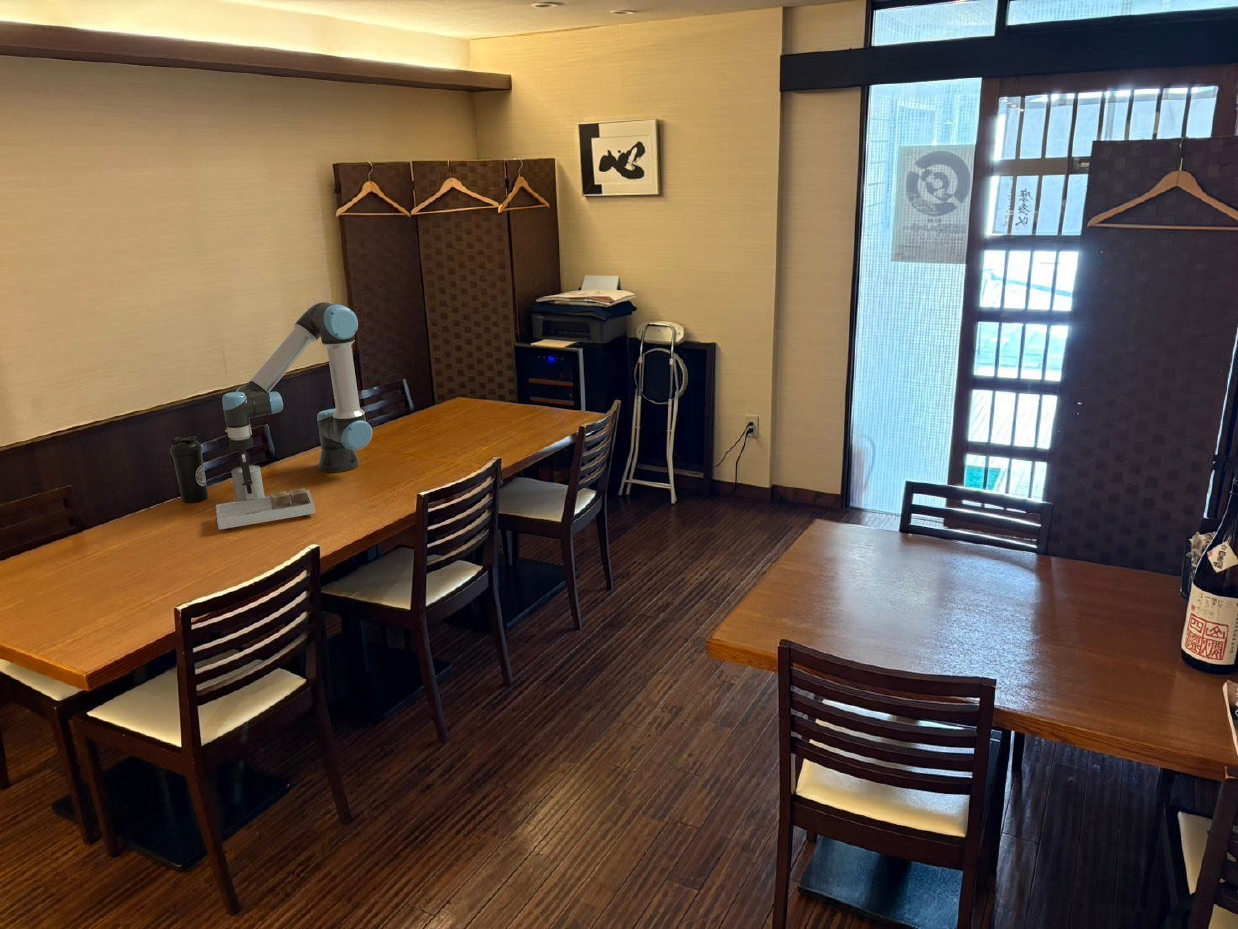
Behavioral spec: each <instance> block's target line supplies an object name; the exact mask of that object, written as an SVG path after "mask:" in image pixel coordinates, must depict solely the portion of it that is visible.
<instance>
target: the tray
mask: <svg viewBox="0 0 1238 929" xmlns="http://www.w3.org/2000/svg"><path fill="white" fill-rule="evenodd" d="M306 492H307V498H308V504H302V505H296V506H292V502H291V495H290V492H287V493H288V494H289V497H290V504H291V506H290V507H284V508H278V509H273V508H272V504H271V497H270V495H269V496H265V497H261V498H255V499H249V500H242V501H230V502H225V503H217V504H216V505H215V510H216V522H217V527H218V530H224V529H225V530H226V531H232V530H233V528H236V527H242V526H248V525H253V524H260V523H266V522H272V521H273V522H274V521H277V520H284V519H290V518H296V517H301V516H303V518H308V517H309V515H313V514H316V508H315V502H314V500H313V497H312V495H311V492H310V489H307V490H306Z"/></svg>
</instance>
